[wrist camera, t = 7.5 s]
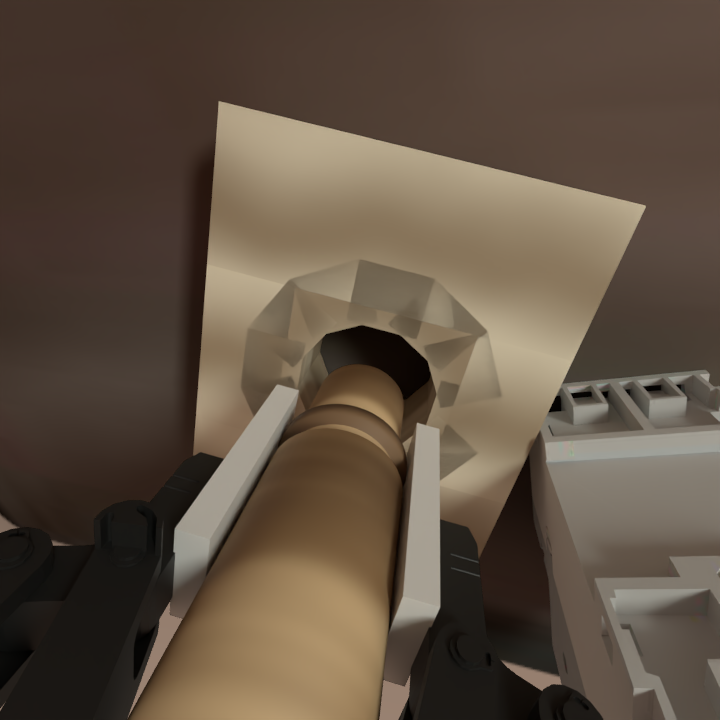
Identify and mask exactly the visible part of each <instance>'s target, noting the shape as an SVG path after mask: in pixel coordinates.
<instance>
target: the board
mask: <svg viewBox="0 0 720 720" xmlns="http://www.w3.org/2000/svg"><path fill="white" fill-rule="evenodd" d="M645 207H646V206H644V205H640V204H636V203H632V202H628V201H624V200H620V199H616V198H612V197H608V196H604V195H599V194H595V193H591V192H587V191H583V190H579V189H575V188H571V187H567V186H563V185H559V184H555V183H550V182H546V181H542V180H538V179H534V178H530V177H526V176H522V175H518V174H514V173H510V172H506V171H501V170H497V169H493V168H489V167H485V166H481V165H477V164H473V163H469V162H465V161H461V160H457V159H453V158H448V157H444V156H440V155H436V154H432V153H428V152H424V151H420V150H416V149H412V148H408V147H404V146H399V145H395V144H391V143H387V142H383V141H379V140H375V139H371V138H367V137H363V136H359V135H355V134H350V133H346V132H342V131H338V130H334V129H330V128H326V127H322V126H318V125H314V124H310V123H306V122H302V121H297V120H293V119H289V118H285V117H281V116H277V115H273V114H269V113H265V112H261V111H257V110H253V109H248V108H244V107H240V106H236V105H232V104H228V103H224V102H220V101H219V107H218V121H217V135H216V148H215V162H214V176H213V190H212V203H211V217H210V231H209V244H208V258H207V272H206V286H205V299H204V313H203V327H202V341H201V354H200V368H199V382H198V395H197V409H196V423H195V437H194V450H193V456H194V455H196V454H198V453H200V452H202V453H206V454H209V455H213V456H216V457H220V458H223V459H225V457H226V456H227V454H228V453H229V452H230V450H231V449H232V447H233V446H234V445H235V443H236V442H237V440H238V439H239V438H240V436H241V435H242V433H243V432H244V430H245V429H246V428H247V426H248V425H249V423H250V422H251V421H252V419H253V418H254V416H255V415H256V414H257V412H258V411H259V409H260V408H261V407H262V405H263V404H264V402H265V401H266V399H267V398H268V397H269V395H270V394H271V392H272V391H273V390H274V388H275V387H276V385H277V384H278V385H282V386H285V387H289V388H293V389H296V390H299V393H298V398H297V404H296V409H295V415H294V419H295V418H296V417H297V416H298V415H300V414H301V413H303V412H305V411H306V410H309V408H310V406H311V404H312V402H313V400H314V398H315V396H316V394H317V392H318V390H319V388H320V387H321V385H322V383H323V381H324V380H325V378H326V377H327V376H328V372H327V369H326V367H325V364H324V361H323V358H322V356H321V353H320V349H321V344H322V339H323V337H324V336H325V335H326V334H327V333H331V332H336V331H340V330H344V329H348V328H352V327H356V326H360V325H365V326H368V327H372V328H376V329H380V330H383V331H387V332H391V333H395V334H398V335H401V336H402V337H403V338H404V339H405V340H406V341H407V342H408V343H409V344H410V345H411V346H412V347H413V348H414V349H415V350H417V351H418V352H419V353H420V354H421V355H422V356H423V357H424V358H425V359H426V360H427V361H428V364H429V368H430V372H431V375H430V378H429V381H428V382H427V383H426V384H424V385H423V386H422V387H421V388H420V389H418V390H417V391H416V392H415V393H414V394H412V395H411V396H410V397H409V398H408V399H405V400H404V412H403V419H402V426H401V434H400V440H401V442H402V443H403V446H404V449H405V452H406V455H407V452H408V449H409V446H410V443H411V440H412V437H413V434H414V430H415V427H416V424H417V423H420V424H423V425H427V426H430V427H434V428H438V429H439V439H440V519H441V520H445V521H448V522H452V523H455V524H459V525H462V526H466V527H468V528H469V530H470V531H471V533H472V535H473V537H474V539H475V541H476V543H477V547H478V557H480V555H481V553H482V551H483V549H484V547H485V545H486V542H487V540H488V538H489V536H490V534H491V532H492V530H493V528H494V526H495V524H496V521H497V519H498V517H499V515H500V513H501V511H502V509H503V507H504V505H505V502H506V500H507V498H508V496H509V494H510V492H511V490H512V488H513V486H514V483H515V481H516V479H517V477H518V475H519V473H520V471H521V469H522V467H523V465H524V462H525V460H526V458H527V456H528V454H529V452H530V450H531V448H532V446H533V443H534V441H535V439H536V437H537V435H538V433H539V431H540V429H541V427H542V424H543V422H544V420H545V418H546V416H547V414H548V412H549V410H550V408H551V406H552V403H553V401H554V399H555V397H556V395H557V393H558V391H559V389H560V387H561V384H562V382H563V380H564V378H565V376H566V374H567V372H568V370H569V368H570V365H571V363H572V361H573V359H574V357H575V355H576V353H577V351H578V349H579V347H580V344H581V342H582V340H583V338H584V336H585V334H586V332H587V330H588V328H589V325H590V323H591V321H592V319H593V317H594V315H595V313H596V311H597V309H598V306H599V304H600V302H601V300H602V298H603V296H604V294H605V292H606V290H607V287H608V285H609V283H610V281H611V279H612V277H613V275H614V273H615V271H616V269H617V266H618V264H619V262H620V260H621V258H622V256H623V254H624V252H625V250H626V247H627V245H628V243H629V241H630V239H631V237H632V235H633V233H634V231H635V228H636V226H637V224H638V222H639V220H640V218H641V216H642V214H643V212H644V210H645Z"/></svg>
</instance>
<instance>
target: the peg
mask: <svg viewBox="0 0 720 720" xmlns="http://www.w3.org/2000/svg"><path fill="white" fill-rule="evenodd" d="M403 412H404V400H403V396H402V393H401V390H400V388H399V387H398V385H397V384H396V382H395V381H394V380H393V379H392V378H391V377H390V376H389V375H388V374H386V373H385V372H383V371H382V370H380V369H377V368H375V367H372V366H368V365H362V364H352V365H346V366H343V367H340V368H338V369H336V370H335V371H333V372H332V373H330V374H329V375H328V376H327V377H326V378H325V380H324V381H323V383H322V385H321V387H320V388H319V390H318V392H317V394H316V396H315V398H314V400H313V402H312V404H311V406H310V408H309V410H306V411H305V412H303V413H301V414H300V415H298V416H297V417H296V418H295V419H294V420H293V421H292V422H291V423H290V424H289V426H288V427H287V429H286V430H285V432H284V434H283V436H282V437H281V439H280V441H279V443H278V449H277V451H276V452H275V454H274V455H273V457H272V459H271V461H270V462H269V464H268V466H267V468H266V470H265V471H264V473H263V475H262V477H261V479H260V481H259V482H258V484H257V486H256V488H255V490H254V491H253V493H252V495H251V497H250V499H249V500H248V502H247V504H246V506H245V508H244V509H243V511H242V513H241V515H240V517H239V518H238V520H237V522H236V524H235V526H234V527H233V529H232V531H231V533H230V535H229V536H228V538H227V540H226V542H225V544H224V546H223V547H222V549H221V551H220V553H219V555H218V556H217V558H216V560H215V562H214V564H213V565H212V567H211V569H210V571H209V573H208V574H207V576H206V578H205V580H204V582H203V583H202V585H201V587H200V589H199V591H198V592H197V594H196V596H195V598H194V600H193V602H192V603H191V605H190V607H189V609H188V611H187V612H186V614H185V616H184V618H183V620H182V621H181V623H180V625H179V627H178V629H177V631H176V632H175V634H174V636H173V638H172V639H171V641H170V643H169V645H168V647H167V648H166V650H165V652H164V654H163V656H162V657H161V659H160V661H159V663H158V665H157V667H156V668H155V670H154V672H153V674H152V676H151V678H150V679H149V681H148V683H147V685H146V687H145V688H144V690H143V692H142V694H141V695H140V697H139V699H138V701H137V703H136V705H135V706H134V708H133V710H132V712H131V714H130V715H129V717H128V719H127V720H379V716H380V706H381V697H382V687H383V678H384V669H385V659H386V649H387V640H388V630H389V621H390V611H391V602H392V592H393V583H394V573H395V563H396V554H397V544H398V535H399V525H400V516H401V506H402V496H403V486H404V484H405V481H406V473H407V456H406V452H405V449H404V446H403V443H402V442H401V440H400V434H401V426H402V419H403Z"/></svg>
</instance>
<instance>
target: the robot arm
mask: <svg viewBox="0 0 720 720" xmlns="http://www.w3.org/2000/svg"><path fill="white" fill-rule="evenodd" d="M298 393H299V390H296V389H293V388H289V387H285V386H282V385H278V384H277V385H276V387H275V388H274V390H273V391H272V392H271V394H270V395H269V397H268V398H267V399H266V401H265V402H264V404H263V405H262V407H261V408H260V409H259V411H258V412H257V414H256V415H255V416H254V418H253V419H252V421H251V422H250V423H249V425H248V426H247V428H246V429H245V430H244V432H243V433H242V435H241V436H240V438H239V439H238V440H237V442H236V443H235V445H234V446H233V447H232V449H231V450H230V452H229V453H228V454H227V456H226V457H225V459H223V458H220V457H216V456H213V455H209V454H206V453H202V452H200V453H198V454H196V455H194V456H192V457H191V458H189V459H187V460H185V461H184V462H183V463H182V464H181V466H180V467H179V468H178V469H177V470H176V471H175V473H174V474H173V476H171V477H170V479H169V480H168V481H167V482H166V483H165V485H164V487H162V488H161V489H160V491H159V492H158V493H157V494H156V495H155V497H154V498H153V499H152V500H151V501H150V503H148V502H145V501H141V500H127V501H124V502H120V503H116V504H113V505H111V506H110V507H108V508H106V509H104V510H103V511H101V512H100V514H99V515H98V516H97V517H96V518H95V519H94V538H95V545H86V546H53V544H52V541H51V539H50V537H49V535H48V534H47V533H45V532H44V531H42V530H40V529H35V528H29V527H25V528H16V529H10V530H8V531H5V532H2V533H0V708H1V707H2V706H3V704H4V703H5V704H4V706H3V707H2V709H1V711H0V720H127V718H128V715H129V712H130V709H131V707H132V704H133V701H134V698H135V696H136V693H137V690H138V687H139V684H140V682H141V679H142V676H143V673H144V670H145V667H146V665H147V662H148V659H149V656H150V654H151V651H152V648H153V645H154V643H155V640H156V637H157V634H158V628H159V619H160V617H161V615H162V614H163V612H164V610H165V609H166V607H167V605H168V604H169V602H170V615H172V616H175V617H179V618H182V619H183V618H184V616H185V614H186V612H187V611H188V609H189V607H190V605H191V603H192V602H193V600H194V598H195V596H196V594H197V592H198V591H199V589H200V587H201V585H202V583H203V582H204V580H205V578H206V576H207V574H208V573H209V571H210V569H211V567H212V565H213V564H214V562H215V560H216V558H217V556H218V555H219V553H220V551H221V549H222V547H223V546H224V544H225V542H226V540H227V538H228V536H229V535H230V533H231V531H232V529H233V527H234V526H235V524H236V522H237V520H238V518H239V517H240V515H241V513H242V511H243V509H244V508H245V506H246V504H247V502H248V500H249V499H250V497H251V495H252V493H253V491H254V490H255V488H256V486H257V484H258V482H259V481H260V479H261V477H262V475H263V473H264V471H265V470H266V468H267V466H268V464H269V462H270V461H271V459H272V457H273V455H274V454H275V452H276V451H277V449H278V443H279V441H280V439H281V437H282V436H283V434H284V432H285V430H286V429H287V427H288V426H289V424H290V423H291V422H292V421H293V420H294V415H295V409H296V404H297V398H298ZM406 456H407V473H406V481H405V484H404V486H403V496H402V506H401V516H400V525H399V535H398V544H397V554H396V563H395V573H394V583H393V592H392V602H391V611H390V621H389V630H388V640H387V649H386V659H385V669H384V678H383V680H385V681H389V682H392V683H395V684H398V685H402V686H405V685H406V682H407V680H408V678H409V676H410V692H409V698H408V700H407V702H406V704H405V707H404V709H403V711H402V713H401V716H400V717H399V720H603V718H602V716H601V714H600V713H599V712H598V711H597V709H596V708H595V707H594V705H593V704H592V703H591V702H590V701H589V700H588V699H587V698H585V697H584V696H583V695H582V694H580V693H579V692H578V691H576V690H574V689H572V688H570V687H567V686H565V685H555V684H553V685H550V686H549V687H547V688H545V689H543V691H541V690H539V689H538V688H536V687H535V686H533V685H532V684H530V683H529V682H527V681H525V680H524V679H522V678H521V677H519V676H518V675H516V674H515V673H514V672H512V671H511V670H510V669H508V668H507V667H506V666H505V665H504V664H503V663H502V661H501V660H500V659H499V658H498V656H497V653H496V651H495V649H494V647H493V645H492V643H491V642H490V641H489V640H488V637H487V633H486V626H485V616H484V606H483V596H482V586H481V578H480V566H479V564H478V562H479V557H478V547H477V543H476V541H475V539H474V537H473V535H472V533H471V531H470V530H469V528H468V527H466V526H462V525H459V524H455V523H452V522H448V521H445V520H441V519H440V439H439V429H438V428H434V427H430V426H427V425H423V424H420V423H417V424H416V427H415V430H414V434H413V437H412V440H411V443H410V446H409V449H408V452H407V455H406Z"/></svg>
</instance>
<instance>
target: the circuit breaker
mask: <svg viewBox="0 0 720 720" xmlns="http://www.w3.org/2000/svg"><path fill="white" fill-rule="evenodd" d="M708 381H709V373H708V372H707V371H706V370H698V371H688V372H677V373H667V374H657V375H647V376H637V377H627V378H617V379H606V380H596V381H586V382H576V383H566V384H561V387H560V389H559V391H558V393H557V395H556V396H560V397H561V411H558V412H548V414H547V416H546V418H545V420H544V422H543V424H542V427H541V429H540V431H539V433H538V435H537V437H536V439H535V441H534V443H533V446H532V448H531V450H530V452H529V458H530V473H531V488H532V502H533V517H534V524H535V528H536V532H537V536H538V540H539V544H540V547H541V549H543V551H544V555H545V556H544V563H545V567H546V571H547V575H548V579H549V594H550V612H551V629H552V644H553V649H554V653H555V657H556V662H557V666H558V670H559V675H560V679H561V683H562V685H565V686H567V687H570V688H572V689H574V690H576V691H578V692H579V693H580V694H582V695H583V696H584V697H585V698H587V699H588V700H589V701H590V702H591V703H592V704H593V705H594V707H595V708H596V709H597V711H598V712H599V713H600V714H601V716H602V718H603V720H720V387H713V386H712V385H711V384H710V383H709V382H708ZM678 384H681V390H680V389H679V388H678V387H677V386H676V385H678ZM652 385H661V390H658V391H646V390H645V388H644V387H643V386H652ZM627 389H630V396H629V395H628V394H627V392H626V391H625V390H627ZM588 391H591V392H592V397H582V398H573V397H572V395H571V394H570V393H577V392H588ZM605 391H608V397H607V398H604V396H603V395H602V393H601V392H605Z"/></svg>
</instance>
